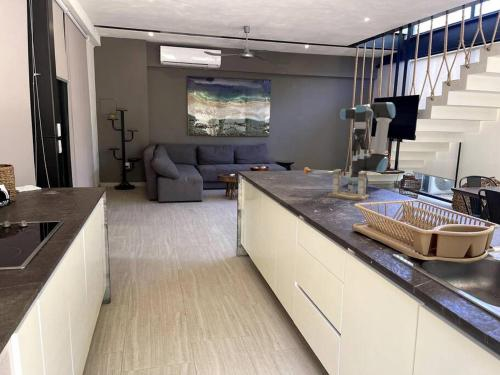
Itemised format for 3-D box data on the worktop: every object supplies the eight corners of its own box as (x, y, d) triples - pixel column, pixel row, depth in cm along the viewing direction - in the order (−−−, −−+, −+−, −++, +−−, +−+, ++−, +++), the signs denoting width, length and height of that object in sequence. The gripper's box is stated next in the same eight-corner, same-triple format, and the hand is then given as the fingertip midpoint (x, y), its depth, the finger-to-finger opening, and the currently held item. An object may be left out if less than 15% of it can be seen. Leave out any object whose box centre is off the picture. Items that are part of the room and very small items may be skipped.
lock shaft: (306, 173, 268) (306, 166, 267) (338, 176, 254) (338, 169, 253) (303, 174, 264) (303, 167, 263) (335, 177, 250) (335, 170, 249)
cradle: (335, 193, 262) (336, 168, 259) (369, 197, 249) (371, 170, 245) (327, 196, 251) (328, 170, 248) (362, 201, 237) (364, 173, 234)
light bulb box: (352, 194, 258) (353, 178, 256) (347, 192, 264) (348, 177, 262) (366, 193, 261) (367, 178, 259) (360, 191, 267) (361, 176, 265)
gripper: (360, 128, 267) (359, 157, 270) (347, 128, 247) (346, 161, 250) (371, 128, 262) (369, 158, 266) (359, 128, 242) (357, 161, 246)
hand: (358, 159), depth 258 cm, fingers open, 13 cm apart
